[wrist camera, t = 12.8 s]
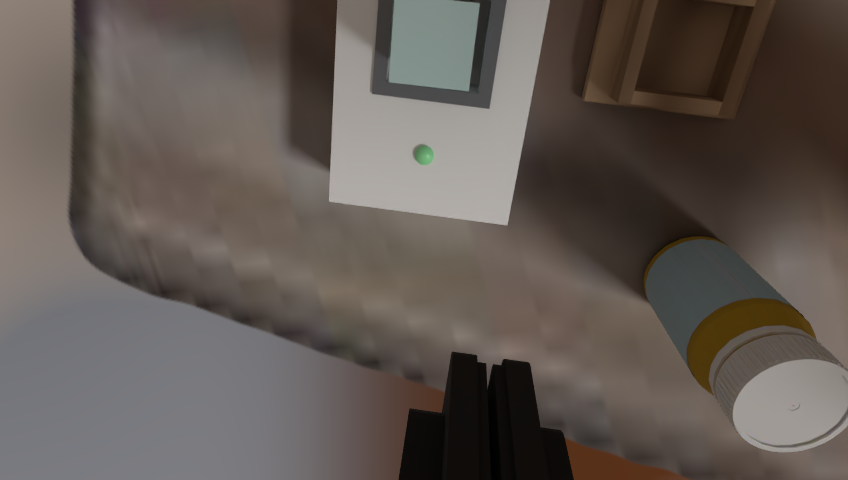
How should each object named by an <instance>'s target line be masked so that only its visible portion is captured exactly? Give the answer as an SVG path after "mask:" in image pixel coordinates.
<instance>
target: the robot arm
mask: <svg viewBox="0 0 848 480" xmlns="http://www.w3.org/2000/svg"><path fill="white" fill-rule="evenodd" d="M399 480H574V479H573V474H572V470H571V465H570V460H569V456H568V451H567V447H566V442H565V438H564V435H563V433H562V431H561V430H555V429H549V428H542V427H540V421H539V415H538V409H537V403H536V397H535V391H534V385H533V379H532V373H531V367H530V363H529V362H522V361H515V360H508V359H504V360H503V362H502V365H495V364H493V366H492V370H491V375H490V380H489V385H488V390H487V372H486V363H481V362H477V355H472V354H465V353H458V352H452V354H451V359H450V365H449V372H448V378H447V384H446V390H445V397H444V403H443V409H442V413H437V412H430V411H423V410H417V409H410V410H409V415H408V422H407V428H406V435H405V441H404V449H403V455H402V461H401V468H400V474H399Z"/></svg>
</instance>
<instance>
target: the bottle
mask: <svg viewBox="0 0 848 480" xmlns="http://www.w3.org/2000/svg"><path fill="white" fill-rule="evenodd" d="M643 283H644V291H645V294H646V296H647V299H648V300H649V302H650V304H651V306H652V308H653V309H654V311H655V313H656V314H657V316H658V318H659V319H660V321H661V323H662V324H663V326H664V328H665V329H666V331H667V333H668V335H669V336H670V338H671V340H672V341H673V343H674V345H675V346H676V348H677V350H678V351H679V353H680V355H681V356H682V358H683V360H684V361H685V363H686V365H687V366H688V368H689V370H690V371H691V373H692V375H693V376H694V377H695V379H696V380H697V382H698V383H699V384H700V385H701V386H702V387H703V388H704V389H705V390H707V391H708V392H709V393H711V394H712V395H714V396H715V398H716V399H717V400H718V402H719V404H720V406H721V408H722V409H723V411H724V413H725V414H726V416H727V417H728V419H729V421H730V422H731V424H732V426H733V427H734V429H735V430H736V432H737V433H739V435H740V436H741V437H743V438H744V439H745V440H746V441H747V442H749V443H750V444H752V445H754V446H756V447H758V448H761V449H764V450H768V451H774V452H795V451H801V450H806V449H809V448H813V447H816V446H818V445H821V444H823V443H825V442H827V441H829V440H830V439H832V438H834V437H835V436H836V435H838V434H839V433H840V432H841V431H843V430H844V429H845V428H846V427H847V426H848V370H847V369H846V368H845V367H844V366H843V365H842V364H841V363H840V362H839V361H838V360H837V359H836V358H835V357H834V356H833V355H832V354H831V353H830V352H829V351H828V350H827V349H826V348H825V347H823V346H822V345H821V344H820V343H819V342H818V341H817V340H816V336H815V334H814V331H813V329H812V327H811V325H810V323H809V322H808V321H807V320H806V319H805V318H804V316H803V315H802V314H801V313H799V312H798V311H797V310H796V309H795V308H794V307H793V306H792V305H791V304H790V303H789V302H788V301H787V300H786V299H785V298H783V297H782V296H781V295H780V294H779V293H778V292H777V291H776V290H775V289H774V288H773V287H772V286H771V285H770V284H769V283H767V282H766V281H765V280H764V279H763V278H762V277H761V276H760V275H759V274H758V273H757V272H756V271H755V270H754V269H752V268H751V267H750V266H749V265H748V264H747V263H746V262H745V261H744V260H743V259H742V258H741V257H740V256H739V255H738V254H736V253H735V252H734V251H733V250H732V249H731V248H730V247H729V246H727V245H726V244H725V243H723V242H721V241H719V240H716V239H714V238H711V237H702V236H693V237H688V238H683V239H679V240H677V241H675V242H673V243H671V244H669V245H667V246H665V247H664V248H663V249H662V250H660V251H659V252H658V253H657V254H656V255H655V256H654V257H653V259H652V260H651V262H650V263H649V265H648V266H647V268H646V272H645V275H644V281H643Z"/></svg>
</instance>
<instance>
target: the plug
mask: <svg viewBox="0 0 848 480" xmlns="http://www.w3.org/2000/svg"><path fill="white" fill-rule="evenodd" d="M479 7H480V3H476V2H467V1H457V0H394V11H393V25H392V40H391V55H390V69H389V82H390V83H399V84H408V85H417V86H426V87H435V88H444V89H453V90H462V91H469V85H470V77H471V70H472V62H473V54H474V46H475V38H476V31H477V23H478V15H479Z"/></svg>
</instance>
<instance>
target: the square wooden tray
mask: <svg viewBox="0 0 848 480" xmlns="http://www.w3.org/2000/svg"><path fill="white" fill-rule="evenodd" d="M775 3H776V0H604V1H603V5H602V9H601V14H600V18H599V23H598V27H597V32H596V36H595V40H594V45H593V49H592V54H591V58H590V62H589V67H588V71H587V76H586V80H585V84H584V89H583V93H582V98H581V99H582V100H584V101H588V102H596V103H604V104H612V105H620V106H628V107H635V108H643V109H651V110H659V111H667V112H675V113H683V114H691V115H699V116H706V117H714V118H722V119H730V120H735V118H736V115H737V112H738V109H739V106H740V103H741V101H742V98H743V95H744V92H745V89H746V86H747V83H748V80H749V78H750V75H751V72H752V69H753V66H754V63H755V60H756V57H757V54H758V52H759V49H760V46H761V43H762V40H763V37H764V34H765V31H766V28H767V26H768V23H769V20H770V17H771V14H772V11H773V8H774V5H775Z"/></svg>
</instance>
